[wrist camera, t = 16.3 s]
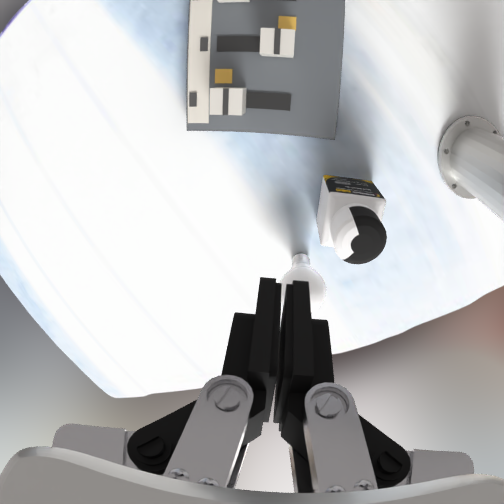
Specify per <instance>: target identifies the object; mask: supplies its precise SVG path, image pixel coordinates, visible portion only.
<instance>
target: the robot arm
mask: <svg viewBox="0 0 504 504" xmlns="http://www.w3.org/2000/svg"><path fill="white" fill-rule="evenodd" d="M444 149H445V150H444ZM438 164H439V170H440V174H441V176H442V179H443V181H444V182H445V184H446V185H447V187H448V188H449V189H450V190H451V191H453V192H454V193H455V194H456V195H458V196H460V197H462V198H467V199H475V198H477V199H478V200H479V201H480V202H482V203H483V204H484V205H485V206H486V207H487V208H489V209H490V210H491V211H492V212H493V213H494V214H495V215H497V216H498V217H499V218H500V219H501V220H502V221H503V222H504V138H503V137H501V136H500V134H499V132H498V130H497V129H496V128H495V127H494V125H492V124H491V123H490V122H489V121H487V120H485V119H483V118H480V117H477V116H466V117H462V118H460V119H458V120H456V121H455V122H454V123H452V124H451V125H450V127H449V128H448V129H447V130H446V132H445V134H444V135H443V138H442V140H441V142H440V147H439V153H438ZM452 184H453V185H452ZM281 290H282V283H276V279H274V278H263V277H260V284H259V292H258V299H257V307H256V314H246V313H236V312H235V314H234V318H233V322H232V327H231V332H230V337H229V341H228V346H227V351H226V356H225V361H224V365H223V370H222V375H221V376H217V377H215V378H212V379H211V380H209V381H208V382H207V383H206V384H205V385H204V387H203V388H202V390H201V393H200V395H199V397H198V399H197V400H196V401H193V402H192V403H190V404H188V405H186V406H185V407H183V408H180V409H178V410H177V411H175V412H173V413H171V414H169V415H167V416H165V417H163V418H161V419H159V420H157V421H155V422H153V423H151V424H149V425H147V426H145V427H143V428H140V429H139V430H137V431H126V430H125V429H123V428H109V427H98V426H97V427H96V426H88V425H80V424H66V425H63V426H62V427H60V428H59V429H58V430H57V431H56V433H55V436H54V440H53V446H52V447H46V446H43V447H29V448H25V449H22V450H20V451H19V452H17V453H16V454H15V455H14V456H13V457H12V458H11V459H10V460H9V462H8V463H7V465H6V466H5V468H4V470H3V472H2V473H1V475H0V504H504V479H502V478H499V477H496V476H492V475H487V474H474V467H473V462H472V460H471V458H470V457H469V456H468V455H467V454H466V453H462V452H448V451H430V450H418V449H414V450H413V451H405V449H403V447H401V446H400V445H399V444H397V443H396V442H394V441H393V440H392V439H390V438H389V437H387V436H386V435H385V434H384V433H382V432H381V431H380V430H378V429H377V428H376V427H374V426H373V425H372V424H371V423H369V422H368V421H367V420H365V419H364V418H362V417H361V416H360V415H359V414H358V412H357V408H356V405H355V401H354V399H353V397H352V395H351V393H350V392H349V391H348V390H347V389H346V388H344V387H343V386H341V385H339V384H335V383H334V375H333V363H332V353H331V344H330V335H329V326H328V321H327V320H319V319H311V304H310V290H309V282H308V281H298V280H293V282H292V284H286V291H285V298H284V305H283V313H282V320H281V327H280V315H281ZM275 384H276V391H275V406H274V420H273V422H274V423H279V431H281V437H282V438H283V439H284V440H285V441H287V443H289V453H290V460H291V468H292V476H293V484H294V492H295V493H279V492H262V491H250V490H240V489H235V486H236V483H237V480H238V477H239V474H240V471H241V468H242V465H243V462H244V458H245V455H246V452H247V449H248V446H249V443H250V442H251V441H252V440H254V439H255V438H257V437H258V436H260V435H261V431H262V425H263V422H268V421H269V416H270V411H271V406H272V401H273V395H274V389H275Z"/></svg>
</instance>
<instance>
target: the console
mask: <svg viewBox="0 0 504 504" xmlns="http://www.w3.org/2000/svg"><path fill="white" fill-rule="evenodd" d="M344 16H345V0H250V2H224V3H219V2H218V1H217V0H190V2H189V20H188V45H187V131H234V132H255V133H270V134H283V135H295V136H305V137H314V138H323V139H331V140H335V133H336V124H337V114H338V104H339V93H340V82H341V69H342V55H343V38H344ZM261 28H281V29H293V30H295V43H294V56H293V58H286V57H271V56H261V55H260V33H261ZM215 87H236V88H247V90H246V112H245V113H244V114H243V115H209V113H210V88H215Z"/></svg>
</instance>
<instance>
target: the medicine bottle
mask: <svg viewBox="0 0 504 504" xmlns="http://www.w3.org/2000/svg"><path fill="white" fill-rule="evenodd" d="M385 205H386V200H385V198H384V197H383V196H382V194H381V193H380V192H379V190H378V189H377V188H376V186H375V185H374V184H373V182H372V181H367V180H360V179H353V178H345V177H338V176H330V175H324V176H323V178H322V185H321V192H320V199H319V206H318V213H317V219H316V221H317V227H318V232H319V238H320V243H321V245H322V246H329V247H334V249H335V251H336V253H337V255H338V256H339V257H340V258H341V259H342V260H344V261H346V262H348V263H351V264H363V263H367V262H370V261H372V260H373V259H375V258H376V257H377V256H378V255H379V254H380V253H381V252H382V251H383V249H384V247H385V244H386V239H387V236H386V231H385V228H384V226H383V224H382V223H381V221H382V217H383V213H384V209H385Z"/></svg>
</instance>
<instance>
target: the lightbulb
mask: <svg viewBox="0 0 504 504" xmlns="http://www.w3.org/2000/svg"><path fill="white" fill-rule="evenodd" d="M293 280H298V281H308V282H309V290H310V304H311V313H312V312H314V311H316V310H317V309H318V308H319V307H320V306H321V305H322V304H323V302H324V300H325V297H326V284H325V281H324V279H323V277H322V276H321V275H320V274H319V273H318V272H317V271H316V270H314V269H312V268H311V266H310V259H309V257H308V256H307V255H305V254H297V255H295V256H294V257H293V259H292V268H291V270H289V271H288V272H287V273H286V274H285V275H284V276H283V277H282V279H281V281H280V283H282V290H281V303H282V304H283V305H284V298H285V291H286V284H292V282H293Z"/></svg>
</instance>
